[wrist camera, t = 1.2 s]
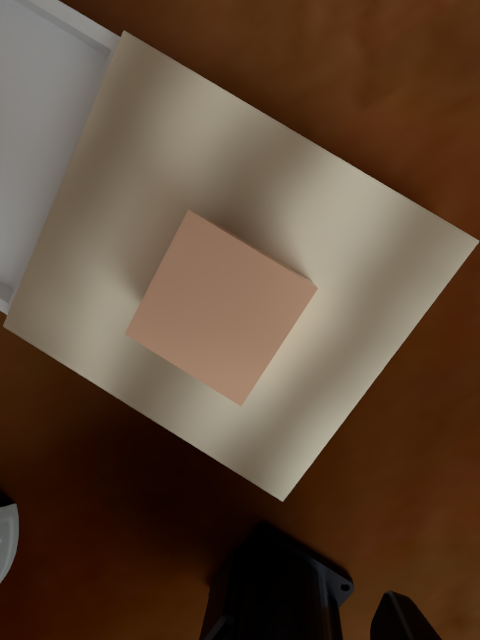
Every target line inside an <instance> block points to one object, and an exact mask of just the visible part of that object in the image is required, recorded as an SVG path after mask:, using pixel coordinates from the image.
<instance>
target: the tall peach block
mask: <svg viewBox="0 0 480 640" xmlns="http://www.w3.org/2000/svg"><path fill="white" fill-rule="evenodd" d="M317 289H318V287H317V286H316V285H315V284H314V283H313V282H312V281H310V280H309V279H307V278H306V277H304V276H302V275H301V274H299V273H297V272H296V271H294V270H292V269H291V268H289V267H287V266H286V265H284V264H282V263H281V262H279V261H277V260H276V259H274V258H272V257H271V256H269V255H268V254H266V253H264V252H263V251H261V250H259V249H258V248H256V247H254V246H253V245H251V244H249V243H248V242H246V241H244V240H243V239H241V238H239V237H238V236H236V235H234V234H233V233H231V232H229V231H228V230H226V229H225V228H223V227H221V226H220V225H218V224H216V223H215V222H213V221H211V220H210V219H208V218H205V217H203V216H201V215H199V214H197V213H195V212H193V211H191V210H188V211H187V213H186V215H185V217H184V219H183V221H182V223H181V225H180V227H179V229H178V231H177V233H176V235H175V237H174V238H173V240H172V242H171V244H170V246H169V248H168V250H167V252H166V254H165V256H164V258H163V260H162V262H161V264H160V266H159V268H158V270H157V272H156V274H155V275H154V277H153V279H152V281H151V283H150V285H149V287H148V289H147V291H146V293H145V295H144V297H143V299H142V301H141V303H140V305H139V307H138V309H137V311H136V312H135V314H134V316H133V318H132V320H131V322H130V324H129V326H128V328H127V330H126V332H125V335H127V336H128V337H130V338H132V339H133V340H135V341H137V342H138V343H140V344H141V345H143V346H145V347H146V348H148V349H149V350H151V351H153V352H154V353H156V354H157V355H159V356H161V357H162V358H164V359H166V360H167V361H169V362H170V363H172V364H174V365H175V366H177V367H178V368H180V369H182V370H183V371H185V372H186V373H188V374H190V375H191V376H193V377H195V378H196V379H198V380H199V381H201V382H203V383H204V384H206V385H207V386H209V387H211V388H212V389H214V390H216V391H217V392H219V393H220V394H222V395H224V396H225V397H227V398H228V399H230V400H232V401H233V402H235V403H236V404H238V405H240V406H242V404H243V403H244V401H245V400H246V398H247V397H248V395H249V394H250V392H251V391H252V389H253V388H254V386H255V384H256V383H257V381H258V380H259V378H260V377H261V375H262V374H263V372H264V371H265V369H266V368H267V366H268V365H269V363H270V361H271V360H272V358H273V357H274V355H275V354H276V352H277V351H278V349H279V348H280V346H281V345H282V343H283V342H284V340H285V338H286V337H287V335H288V334H289V332H290V331H291V329H292V328H293V326H294V325H295V323H296V322H297V320H298V319H299V317H300V315H301V314H302V312H303V311H304V309H305V308H306V306H307V305H308V303H309V302H310V300H311V299H312V297H313V296H314V294H315V292H316V291H317Z"/></svg>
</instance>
